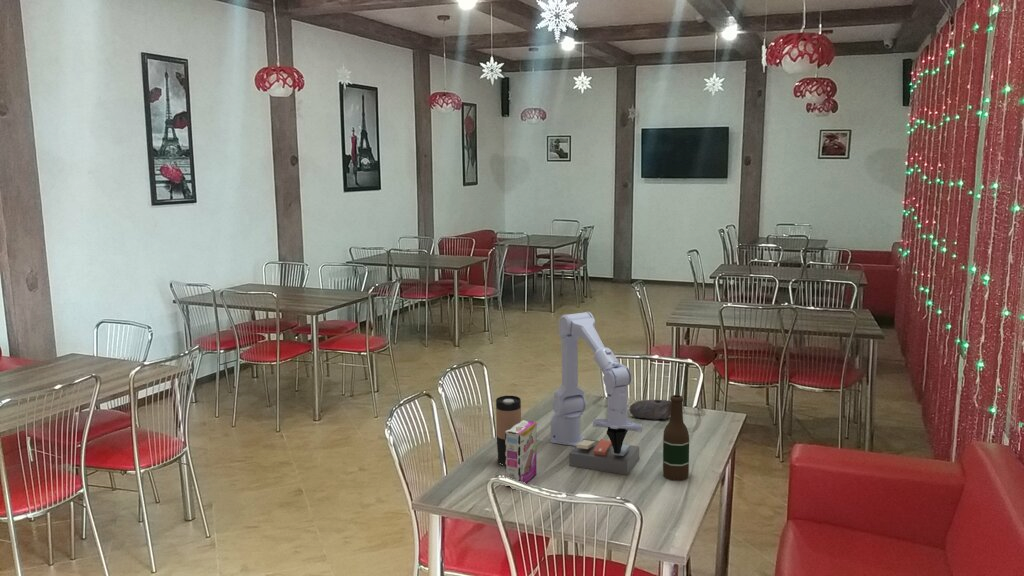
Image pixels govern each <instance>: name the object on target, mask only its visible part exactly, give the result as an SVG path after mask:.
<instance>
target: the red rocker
mask: <svg viewBox="0 0 1024 576" xmlns="http://www.w3.org/2000/svg"><path fill="white" fill-rule="evenodd" d="M598 441H599V443H598V445H597V446H596V448H595V449H594V451H593V452H594V454H598V455H604V456H605V455H606V453H607V452H608V450H609V448H610V447H611V445H612V443H611V440H608V439H607V440H606V439H600V440H598Z"/></svg>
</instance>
